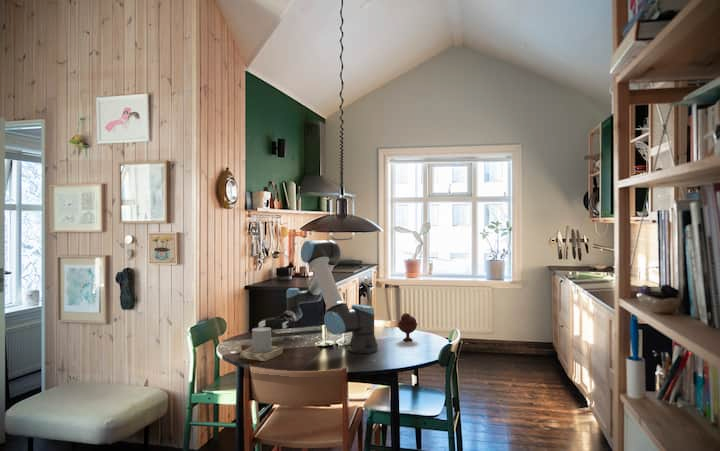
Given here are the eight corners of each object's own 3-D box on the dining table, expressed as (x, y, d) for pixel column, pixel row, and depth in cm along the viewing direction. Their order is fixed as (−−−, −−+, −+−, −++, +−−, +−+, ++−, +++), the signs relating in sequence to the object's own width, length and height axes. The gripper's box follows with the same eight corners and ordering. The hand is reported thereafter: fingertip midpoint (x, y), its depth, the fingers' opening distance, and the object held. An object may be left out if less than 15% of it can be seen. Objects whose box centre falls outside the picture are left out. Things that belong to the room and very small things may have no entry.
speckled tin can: (267, 356, 238) (266, 331, 238) (249, 355, 240) (248, 330, 240) (274, 351, 247) (274, 327, 247) (256, 350, 249) (256, 326, 249)
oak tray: (282, 353, 247) (282, 347, 247) (265, 361, 233) (265, 355, 233) (258, 350, 253) (258, 344, 253) (240, 357, 240) (240, 351, 240)
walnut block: (251, 350, 253) (251, 343, 253) (248, 352, 249) (248, 345, 249) (244, 350, 253) (243, 343, 253) (241, 352, 249) (241, 345, 249)
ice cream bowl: (396, 342, 266) (396, 315, 266) (400, 337, 277) (399, 311, 277) (416, 343, 263) (415, 315, 263) (418, 338, 274) (418, 312, 274)
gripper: (307, 325, 272) (293, 333, 252) (266, 324, 278) (249, 332, 258) (307, 312, 272) (293, 319, 252) (266, 311, 278) (249, 318, 258)
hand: (271, 325), depth 255 cm, fingers open, 13 cm apart
